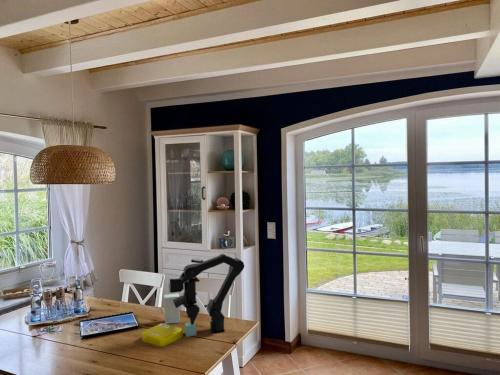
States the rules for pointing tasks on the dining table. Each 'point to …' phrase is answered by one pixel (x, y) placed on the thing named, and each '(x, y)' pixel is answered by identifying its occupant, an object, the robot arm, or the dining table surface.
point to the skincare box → (171, 309)
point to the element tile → (162, 334)
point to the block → (190, 329)
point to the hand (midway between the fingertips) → (190, 321)
